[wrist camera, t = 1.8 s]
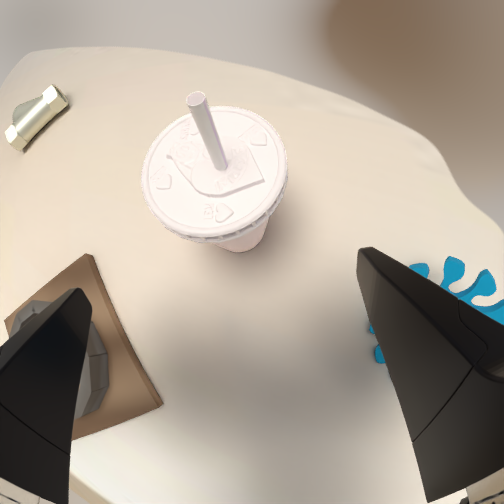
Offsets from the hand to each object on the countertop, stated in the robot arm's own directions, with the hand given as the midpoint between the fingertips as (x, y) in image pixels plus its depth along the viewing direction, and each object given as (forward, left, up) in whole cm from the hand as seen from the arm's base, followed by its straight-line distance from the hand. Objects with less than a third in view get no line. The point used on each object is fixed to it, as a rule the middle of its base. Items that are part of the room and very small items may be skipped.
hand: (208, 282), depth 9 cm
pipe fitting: (+31, +12, -12) cm, 35 cm away
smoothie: (+5, -2, -12) cm, 13 cm away
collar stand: (+3, +16, -12) cm, 20 cm away
